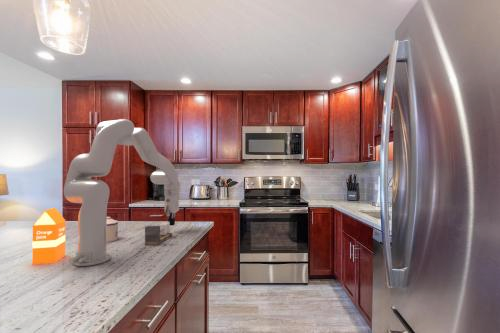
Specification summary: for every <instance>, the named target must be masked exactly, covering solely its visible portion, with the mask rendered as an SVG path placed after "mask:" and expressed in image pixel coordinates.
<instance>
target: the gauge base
mask: <svg viewBox="0 0 500 333" xmlns="http://www.w3.org/2000/svg"><path fill="white" fill-rule="evenodd" d="M172 236H173V232H170V234H166V235H160V226H159V225H147V226H145V227H144V246H159V245H160V244H162V243H163V242H165V241H166V240H168V239H170V238H171V237H172Z"/></svg>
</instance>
